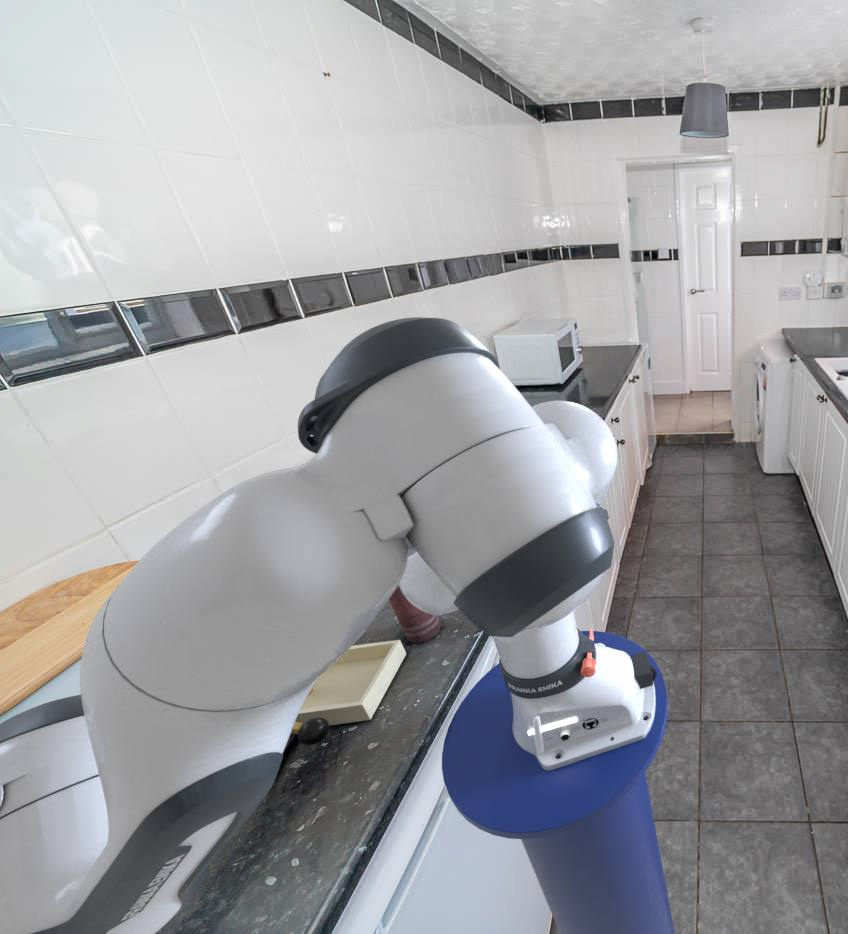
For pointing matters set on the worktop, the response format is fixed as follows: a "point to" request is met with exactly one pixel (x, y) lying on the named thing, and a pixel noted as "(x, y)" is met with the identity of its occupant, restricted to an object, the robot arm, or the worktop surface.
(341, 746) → the worktop surface
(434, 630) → the can
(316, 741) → the tap lever
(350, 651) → the cream wooden tray
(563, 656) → the robot arm
